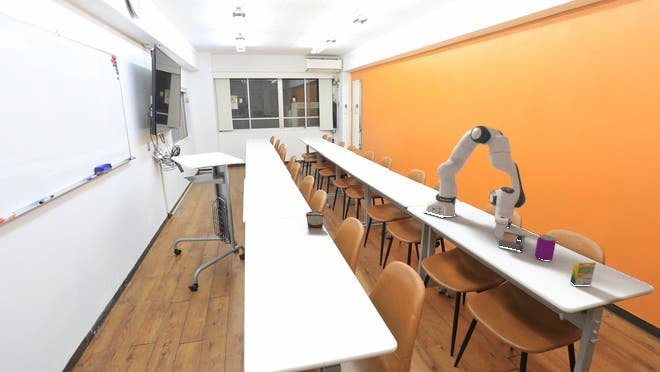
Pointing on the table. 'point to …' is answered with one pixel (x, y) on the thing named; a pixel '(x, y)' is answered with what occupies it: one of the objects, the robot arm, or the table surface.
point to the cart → (509, 238)
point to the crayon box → (582, 273)
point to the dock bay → (512, 245)
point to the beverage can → (545, 247)
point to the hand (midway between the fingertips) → (500, 239)
